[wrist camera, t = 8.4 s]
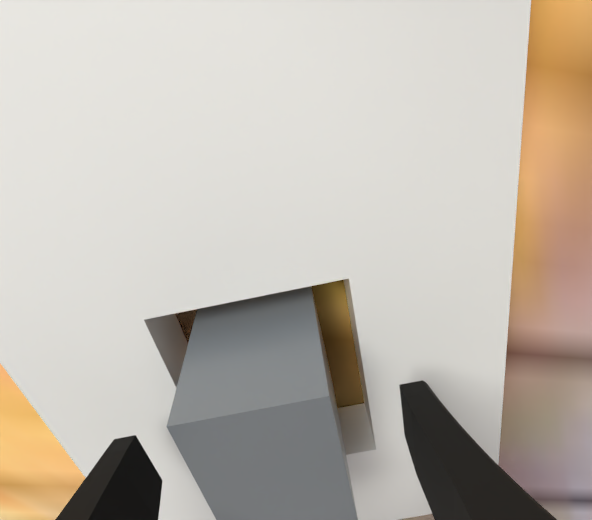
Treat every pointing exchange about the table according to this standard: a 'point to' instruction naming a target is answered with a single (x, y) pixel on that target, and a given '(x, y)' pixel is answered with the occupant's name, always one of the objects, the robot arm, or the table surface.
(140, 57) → the base plate
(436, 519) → the robot arm
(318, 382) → the block
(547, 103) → the table surface
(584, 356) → the table surface
